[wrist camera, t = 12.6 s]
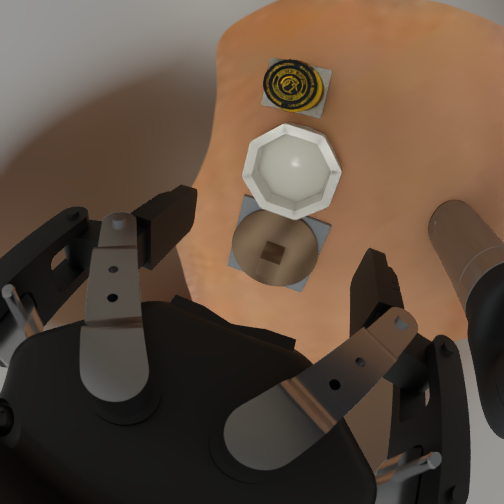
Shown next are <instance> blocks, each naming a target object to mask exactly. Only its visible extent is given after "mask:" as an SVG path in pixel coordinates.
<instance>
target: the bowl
mask: <svg viewBox="0 0 504 504" xmlns="http://www.w3.org/2000/svg"><path fill="white" fill-rule="evenodd" d="M341 174H342V170H341V165H340V163H339V161H338V159H337V157H336V154H335V152H334V149H333V147H332V145H331V144H330V142H329V141H328V139H327V137H326V135H325V134H324V133H322V132H319V131H317V130H315V129H313V128H311V127H308V126H305V125H299V124H295V123H292V122H286V123H284V124H282V125H280V126H278V127H276V128H275V129H273V130H271V131H269V132H267V133H265V134H263V135H261V136H260V137H258V138H256V139H254V140H252V141H251V142H250V145H249V149H248V153H247V157H246V161H245V165H244V170H243V174H242V176H243V177H242V178H243V180H244V181H245V183H246V185H247V186H248V188H249V190H250V191H251V193H252V195H253V196H254V198H255V200H256V201H257V203H258V205H259V207H261V208H262V209H265V210H267V211H270V212H273V213H276V214H279V215H282V216H284V217H287V218H290V219H293V220H297V219H300V218H302V217H305V216H307V215H310V214H312V213H314V212H317V211H319V210H322V209H324V208H327V207H328V206H329V205H330V202H331V200H332V197H333V195H334V192H335V189H336V187H337V184H338V182H339V179H340V176H341Z"/></svg>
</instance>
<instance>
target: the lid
mask: <svg viewBox="0 0 504 504" xmlns="http://www.w3.org/2000/svg"><path fill="white" fill-rule="evenodd" d="M232 249H233V254H234V257H235V259H236V261H237V263H238V265H239V266H240V267H241V269H242V270H243V271H244V272H245V273H246V274H247V275H249V276H250V277H251V278H253V279H255V280H256V281H258V282H261V283H263V284H266V285H271V286H289V285H293V284H296V283H298V282H300V281H302V280H303V279H305V278H306V277H307V276H308V275H309V274H310V273H311V272H312V270H313V269H314V267H315V264H316V261H317V256H318V243H317V239H316V236H315V234H314V232H313V230H312V229H311V227H310V226H309V225H308V224H307V223H306V222H305V221H304V220H303V219H302V218H300V219H297V220H293V219H290V218H287V217H284V216H282V215H279V214H276V213H273V212H270V211H267V210H265V209H260V210H257V211H254V212H252V213H251V214H249V215H248V216H246V217H245V218H244V219H243V220H242V221H241V222H240V224H239V225H238V227H237V228H236V230H235V232H234V235H233V239H232Z"/></svg>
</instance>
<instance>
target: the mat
mask: <svg viewBox="0 0 504 504" xmlns="http://www.w3.org/2000/svg"><path fill="white" fill-rule="evenodd" d="M260 209H262V208H261V207H259V205H258V203H257V201H256V200H255V198H254V197H252V196H249V195H246V194H245V195H244V199H243V203H242V207H241V211H240V215H239V220H238V224H237V227H238V225H239V224H240V222H241V221H242V220H243V219H244V218H245V217H246V216H248V215H249V214H251V213H252V212H254V211H257V210H260ZM302 219H303V220H304V221H305V222H306V223H307V224H308V225H309V226H310V227H311V229H312V230H313V232H314V234H315V236H316V239H317V243H318V255H319V253H320V251H321V248H322V246H323V244H324V242H325V239H326V237H327V235H328V232H329V230H330V228H331V225H330V224H328V223H325V222H322V221H320V220H317V219H314V218H312V217H309V216H305V217H302ZM317 257H318V256H317ZM228 266H230V267H233V268H236V269H238V270H241V271H243V270H242V269H241V267H240V266H239V265H238V263H237V261H236V259H235V257H234V254H233V249H231V254H230V258H229V262H228ZM309 275H310V274H309ZM309 275H308V276H307V277H306V278H305V279H303V280H302V281H300V282H298V283H296V284H293V285H289V286H285V287H287V288H290V289H293V290H296V291H298V292H301V291H302V289H303V287H304V285H305V283H306V281H307V279H308V277H309Z"/></svg>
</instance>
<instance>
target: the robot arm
mask: <svg viewBox="0 0 504 504" xmlns="http://www.w3.org/2000/svg"><path fill="white" fill-rule="evenodd" d="M196 202H197V189H195V188H192V187H188V186H185V185H180V186H178V187H177V188H175V189H173V190H172V191H170V192H165V193H161V194H158V195H157V196H155V197H154V198H152V200H149V201H148V202H147V203H145V204H143V205H142V206H140V207H139V208H137V209H136V210H134V211H133V212H131V213H127V212H116V213H112V214H109V215H107V216H106V217H105V218H104V219H103V221H95V220H89V216H88V210H87V209H86V208H84V207H71V208H67V209H65V210H63V211H62V212H60V213H59V214H57V215H56V216H54V217H53V218H52V219H50V220H49V221H47V222H46V223H45V224H43V225H42V226H41V227H39V228H38V229H37V230H35V231H34V232H32V233H31V234H30V235H29V236H27V237H26V238H25V239H24V240H22V241H21V242H20V243H18V244H17V245H16V246H15V247H13V248H12V249H11V250H10V251H9V252H7V253H6V254H5V255H4V256H3V257H2V258H1V259H0V366H1V367H8V371H7V375H6V379H5V382H4V385H3V388H2V391H1V393H0V504H466V501H467V499H468V494H469V483H470V459H471V456H470V454H471V449H470V425H469V412H468V403H467V395H466V387H465V381H464V375H463V369H462V364H461V359H460V355H459V350H458V348H457V346H456V345H455V343H454V342H453V341H452V340H451V339H450V338H448V337H447V336H445V335H438V336H436V337H435V338H434V340H433V341H432V342H431V341H430V340H428V339H426V338H425V337H423V336H422V335H420V334H419V333H417V332H418V325H417V322H416V320H415V319H414V317H413V316H412V315H411V314H410V313H409V312H407V311H406V310H404V305H403V300H402V296H401V292H400V287H399V283H398V279H397V276H396V274H395V272H394V271H393V269H392V268H391V267H388V264H387V260H386V256H385V254H384V253H382V252H379V251H377V250H374V249H372V248H369V249H368V250H367V251H366V253H365V255H364V257H363V259H362V261H361V263H360V265H359V267H358V268H357V270H356V272H355V274H354V276H353V279H352V282H351V286H350V338H349V339H347V340H346V341H345V342H344V343H342V344H341V345H340V346H338V347H337V348H336V349H334V350H333V351H332V352H330V353H329V354H327V355H326V356H325V357H323V358H322V359H320V360H319V361H318V362H316V363H315V364H312V363H311V362H310V361H309V360H308V359H307V358H306V357H305V356H304V355H302V354H301V353H300V352H298V351H297V350H295V349H294V347H295V342H296V339H293V338H290V337H287V336H284V335H281V334H278V333H275V332H272V331H269V330H266V329H260V328H253V327H247V326H240V325H234V324H231V323H229V322H227V321H226V320H224V319H223V318H221V317H220V316H218V315H217V314H215V313H214V312H212V311H211V310H209V309H208V308H206V307H205V306H203V305H200V304H198V303H195V302H193V301H190V300H188V299H185V298H183V297H181V296H178V295H175V297H174V298H173V299H172V301H171V302H164V301H147V302H141V294H140V281H139V269H140V268H141V267H145V268H147V269H149V270H152V269H153V268H154V267H155V266H156V265H157V264H158V263H159V262H160V261H161V260H162V259H163V258H164V257H165V256H166V255H167V254H168V253H169V252H170V251H171V249H172V248H173V247H174V246H175V245H176V244H177V243H178V242H179V241H180V240H181V239H182V238H183V237H184V236H185V235H186V234H187V233H188V232H189V231H190V230H191V228H192V226H193V223H194V218H195V210H196ZM429 237H430V240H431V242H432V244H433V246H434V248H435V250H436V252H437V254H438V256H439V258H440V260H441V262H442V263H443V265H444V267H445V269H446V272H447V274H448V276H449V278H450V280H451V282H452V284H453V286H454V289H455V291H456V293H457V295H458V298H459V300H460V302H461V304H462V307H463V309H464V312H465V314H466V317H467V320H468V342H469V347H470V351H471V355H472V360H473V364H474V370H475V374H476V381H477V386H478V392H479V397H480V402H481V406H482V409H483V412H484V415H485V418H486V420H487V422H488V424H489V426H490V428H491V429H492V430H493V432H494V433H495V434H496V435H497V436H499V437H500V438H502V439H504V243H503V242H502V241H501V239H500V238H499V237H498V236H497V235H496V234H495V233H494V231H493V230H492V229H491V228H490V227H489V226H488V225H487V224H486V223H485V222H484V221H483V219H482V218H481V217H480V216H479V215H478V214H477V213H476V212H475V211H474V210H473V209H472V208H471V207H470V206H469V205H468V204H466V203H465V202H463V201H460V200H452V201H448V202H446V203H444V204H442V205H441V206H440V207H439V208H438V209H437V210H436V211H435V212H434V214H433V216H432V218H431V220H430V224H429ZM63 248H64V250H65V255H66V259H64V260H63V261H62V262H61V263H60V264H59V265H58V266H57V267H56V268H55V269H54V270H52V269H51V262H52V259H53V257H54V256H55V255H56V254H57V253H58V252H59V251H61V250H62V249H63ZM88 277H89V279H88V287H87V288H88V289H87V297H86V309H85V319H84V320H81V321H77V322H74V323H71V324H67V325H64V326H61V327H57V328H54V329H50V330H47V331H43V327H44V326H45V325H46V324H47V322H48V321H49V320H50V319H51V318H52V317H53V315H54V314H55V313H56V312H57V311H58V309H59V308H60V307H61V306H62V305H63V304H64V303H65V302H66V301H67V300H68V298H69V297H70V296H71V295H72V294H73V293H74V292H75V291H76V290H77V289H78V288H79V287H80V285H81V284H82V283H83V282H84V281H85V280H86V279H87V278H88ZM382 377H383V378H384V379H386V380H388V381H390V382H392V383H393V401H392V418H391V430H390V440H389V448H388V456H387V460H386V461H384V462H383V463H382V464H381V465H380V467H379V469H378V471H377V474H376V476H375V475H374V473H373V471H372V469H371V467H370V465H369V464H368V462H367V460H366V458H365V456H364V454H363V452H362V451H361V449H360V447H359V445H358V443H357V441H356V439H355V438H354V436H353V434H352V432H351V430H350V428H349V427H348V425H347V423H346V421H345V419H344V416H345V415H346V414H347V413H348V412H349V411H350V410H351V409H352V408H353V407H354V406H355V405H356V404H357V403H358V402H359V401H360V400H361V399H362V398H363V397H364V396H365V395H366V394H367V393H368V392H369V391H370V390H371V389H372V388H373V387H374V386H375V385H376V384H377V383H378V381H379V380H380V379H381V378H382ZM428 388H429V390H430V399H429V402H428V404H427V406H426V404H425V391H426V390H427V389H428Z"/></svg>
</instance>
